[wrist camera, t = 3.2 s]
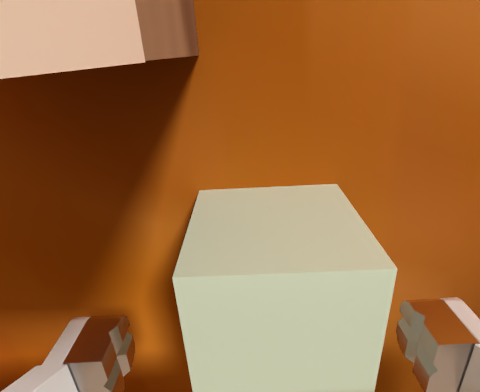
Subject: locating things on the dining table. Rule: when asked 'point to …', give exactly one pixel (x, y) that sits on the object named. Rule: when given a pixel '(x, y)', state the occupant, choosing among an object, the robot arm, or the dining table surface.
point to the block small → (282, 292)
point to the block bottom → (167, 28)
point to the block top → (67, 36)
